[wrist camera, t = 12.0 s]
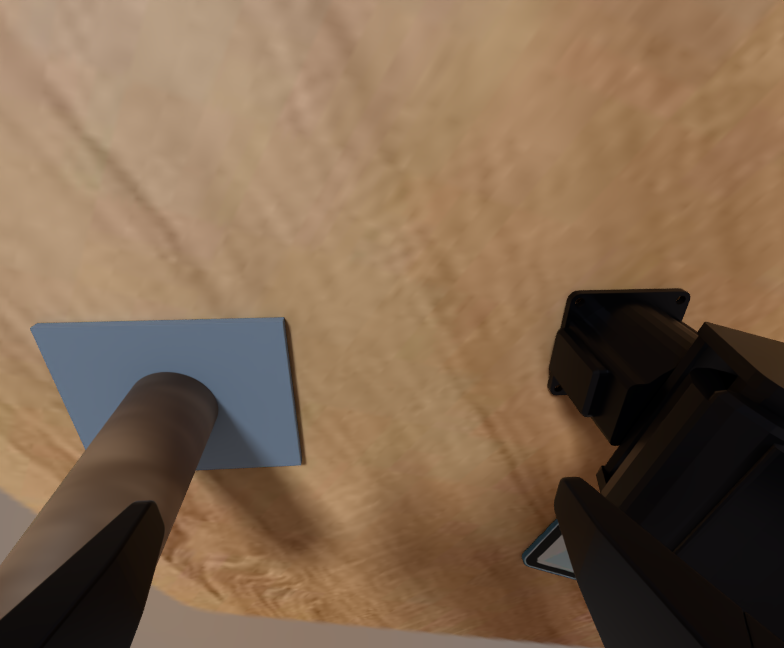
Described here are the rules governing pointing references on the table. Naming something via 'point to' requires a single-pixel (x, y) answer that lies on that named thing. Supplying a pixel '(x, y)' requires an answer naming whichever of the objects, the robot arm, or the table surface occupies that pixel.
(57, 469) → the table surface
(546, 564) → the smartphone
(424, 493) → the table surface
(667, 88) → the table surface
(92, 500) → the pepper mill
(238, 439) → the placemat
